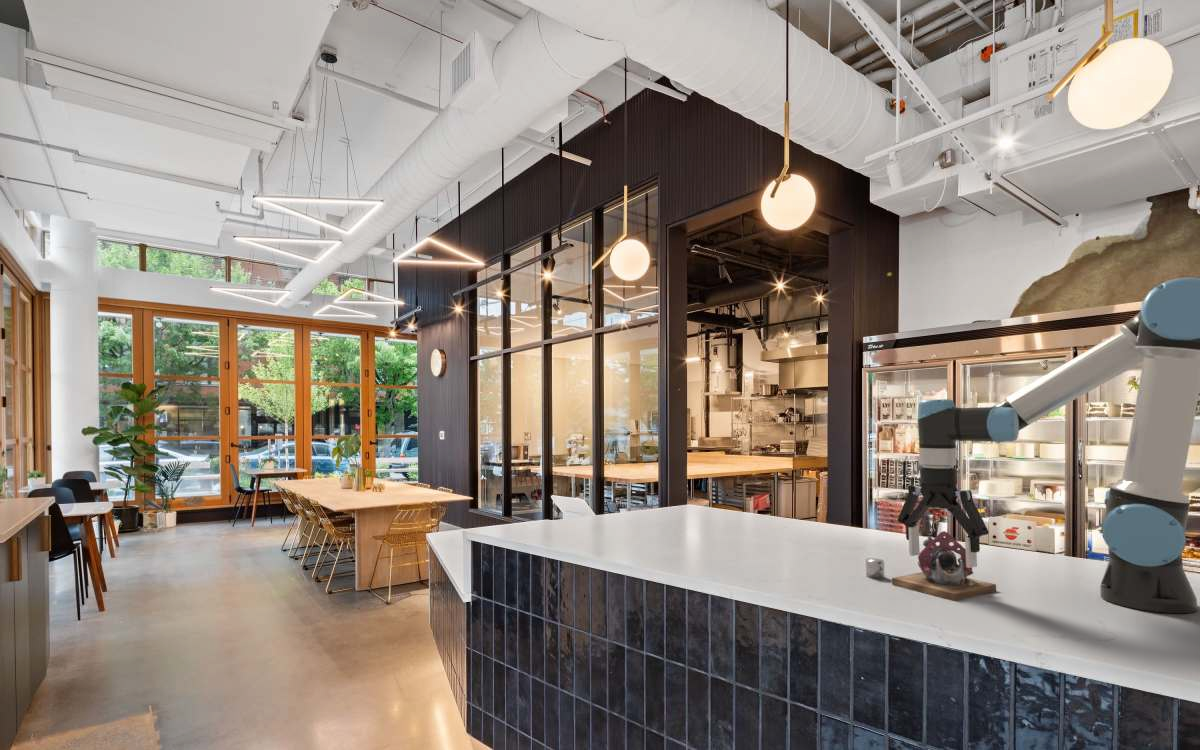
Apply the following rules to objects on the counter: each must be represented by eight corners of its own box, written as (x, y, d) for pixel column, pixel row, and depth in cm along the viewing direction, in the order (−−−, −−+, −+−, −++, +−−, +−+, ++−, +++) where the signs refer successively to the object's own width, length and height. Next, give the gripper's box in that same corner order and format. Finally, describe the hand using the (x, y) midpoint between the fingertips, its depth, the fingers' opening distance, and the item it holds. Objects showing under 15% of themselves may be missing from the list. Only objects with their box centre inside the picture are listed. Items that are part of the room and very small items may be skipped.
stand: (996, 590, 140) (995, 584, 140) (954, 600, 133) (954, 593, 133) (932, 575, 153) (932, 569, 153) (892, 584, 146) (891, 577, 146)
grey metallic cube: (887, 577, 152) (887, 560, 153) (876, 579, 150) (876, 562, 151) (873, 574, 156) (873, 557, 156) (862, 576, 154) (862, 559, 154)
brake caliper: (926, 576, 138) (916, 526, 145) (917, 596, 146) (908, 547, 154) (984, 578, 135) (971, 527, 143) (972, 599, 143) (959, 549, 151)
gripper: (1003, 469, 136) (1008, 570, 134) (900, 462, 158) (903, 548, 156) (983, 471, 132) (987, 574, 131) (880, 463, 154) (883, 552, 153)
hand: (941, 560), depth 144 cm, fingers open, 13 cm apart
